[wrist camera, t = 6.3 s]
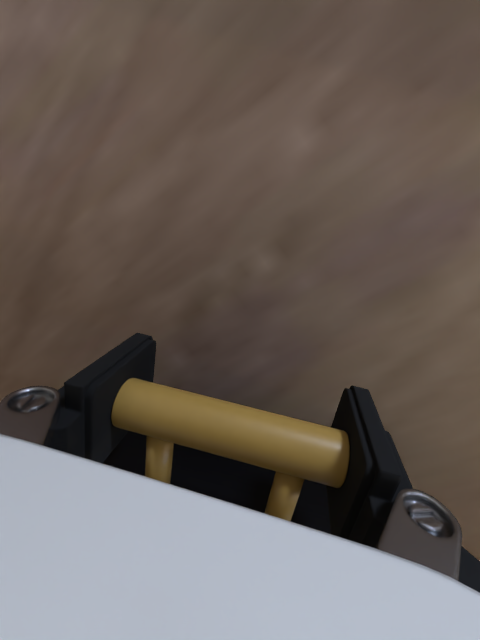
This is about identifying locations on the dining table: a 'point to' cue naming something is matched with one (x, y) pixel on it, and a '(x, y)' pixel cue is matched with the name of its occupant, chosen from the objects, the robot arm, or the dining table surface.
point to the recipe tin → (230, 451)
